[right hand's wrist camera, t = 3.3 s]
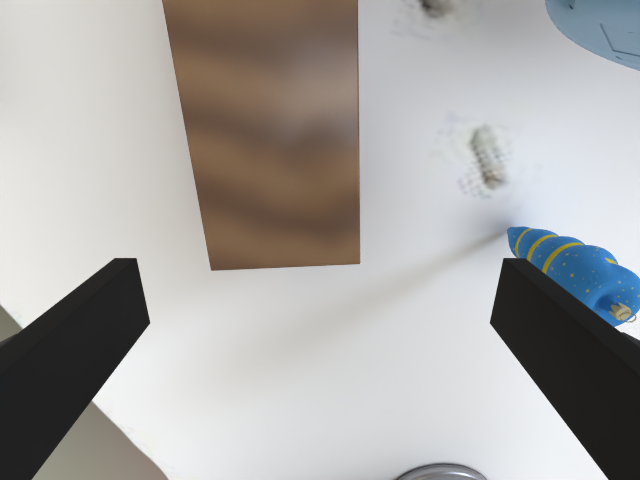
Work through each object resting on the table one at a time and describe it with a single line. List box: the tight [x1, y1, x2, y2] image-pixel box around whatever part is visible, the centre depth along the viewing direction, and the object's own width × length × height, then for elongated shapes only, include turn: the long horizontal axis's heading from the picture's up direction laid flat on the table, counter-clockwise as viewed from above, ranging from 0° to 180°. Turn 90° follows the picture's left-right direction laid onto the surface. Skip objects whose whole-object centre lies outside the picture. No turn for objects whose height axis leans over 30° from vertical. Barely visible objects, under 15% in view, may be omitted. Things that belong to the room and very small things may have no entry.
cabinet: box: [162, 0, 360, 271], centre depth 26 cm, size 20×11×10 cm, turn 3°
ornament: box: [507, 227, 640, 327], centre depth 27 cm, size 5×5×15 cm
